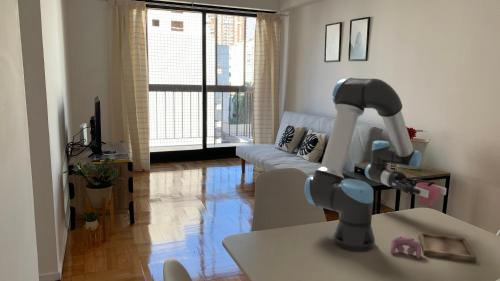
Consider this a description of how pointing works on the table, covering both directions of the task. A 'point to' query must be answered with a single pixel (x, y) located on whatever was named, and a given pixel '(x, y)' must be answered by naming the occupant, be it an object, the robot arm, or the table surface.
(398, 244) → the video game controller
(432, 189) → the apple
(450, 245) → the walnut tray
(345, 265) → the table surface
